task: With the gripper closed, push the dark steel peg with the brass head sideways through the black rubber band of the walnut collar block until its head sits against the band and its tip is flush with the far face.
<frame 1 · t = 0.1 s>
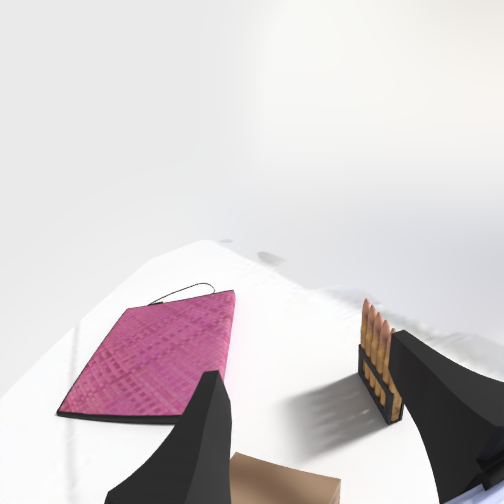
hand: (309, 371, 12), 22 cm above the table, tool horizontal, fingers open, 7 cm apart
ammunition clip: (378, 395, 34), on the table
laptop bag: (161, 349, 56), on the table
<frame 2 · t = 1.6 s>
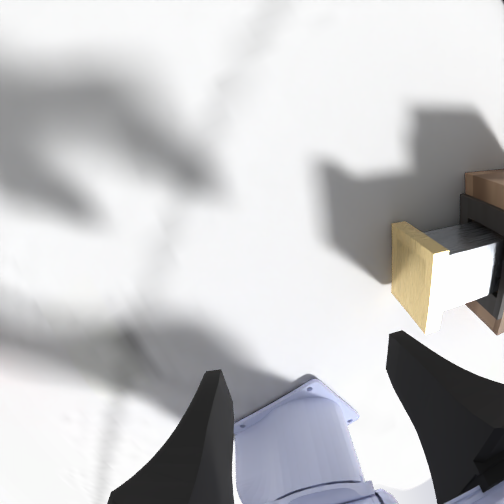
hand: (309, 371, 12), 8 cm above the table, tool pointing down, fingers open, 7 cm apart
peg: (458, 263, 17), point 3 cm above the table, slide at 5.0 cm
collar block: (489, 232, 19), on the table
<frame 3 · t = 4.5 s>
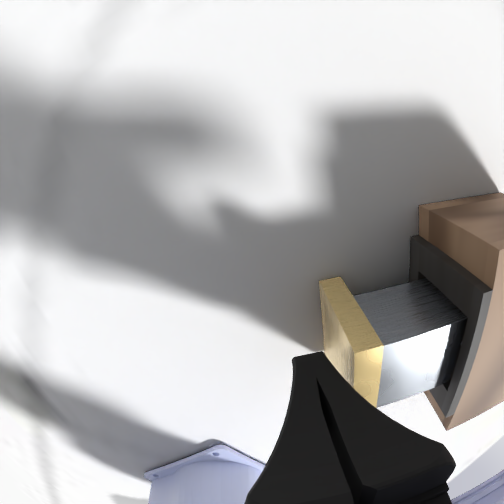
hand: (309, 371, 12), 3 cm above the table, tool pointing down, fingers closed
peg: (416, 337, 12), point 3 cm above the table, slide at 3.7 cm, touching gripper
collar block: (457, 284, 15), on the table
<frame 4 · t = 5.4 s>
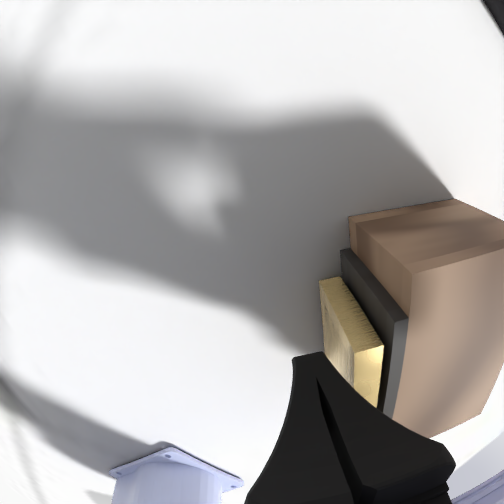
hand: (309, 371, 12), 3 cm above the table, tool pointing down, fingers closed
peg: (416, 336, 12), point 3 cm above the table, slide at 0.0 cm, touching gripper
collar block: (405, 299, 15), on the table
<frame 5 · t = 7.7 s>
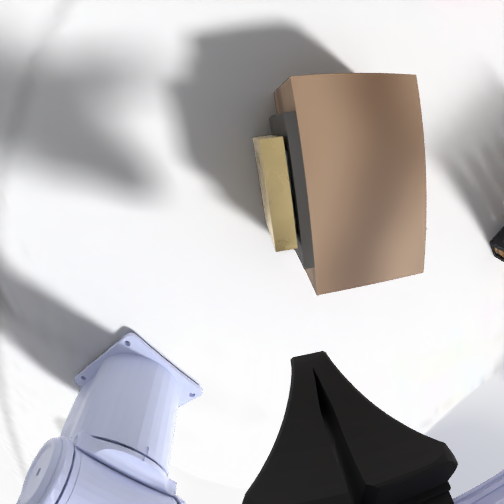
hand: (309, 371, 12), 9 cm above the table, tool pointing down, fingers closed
peg: (336, 176, 16), point 3 cm above the table, slide at 0.0 cm
collar block: (334, 168, 18), on the table
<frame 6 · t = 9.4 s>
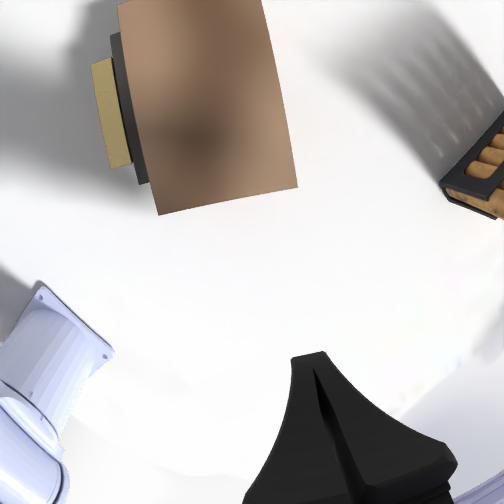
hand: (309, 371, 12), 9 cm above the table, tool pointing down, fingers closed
peg: (191, 95, 14), point 3 cm above the table, slide at 0.0 cm
collar block: (213, 97, 16), on the table
ammunition clip: (481, 149, 18), on the table
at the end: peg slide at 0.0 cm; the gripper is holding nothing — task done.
